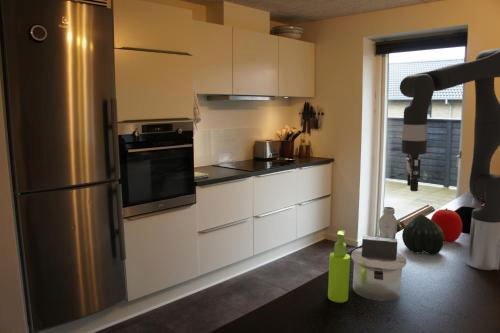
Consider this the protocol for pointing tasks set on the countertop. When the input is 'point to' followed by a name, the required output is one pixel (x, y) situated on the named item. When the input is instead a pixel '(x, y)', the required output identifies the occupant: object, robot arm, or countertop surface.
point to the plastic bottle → (388, 223)
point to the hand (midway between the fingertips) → (412, 188)
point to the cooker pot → (376, 283)
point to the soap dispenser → (339, 271)
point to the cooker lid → (379, 254)
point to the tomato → (448, 224)
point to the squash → (423, 236)
